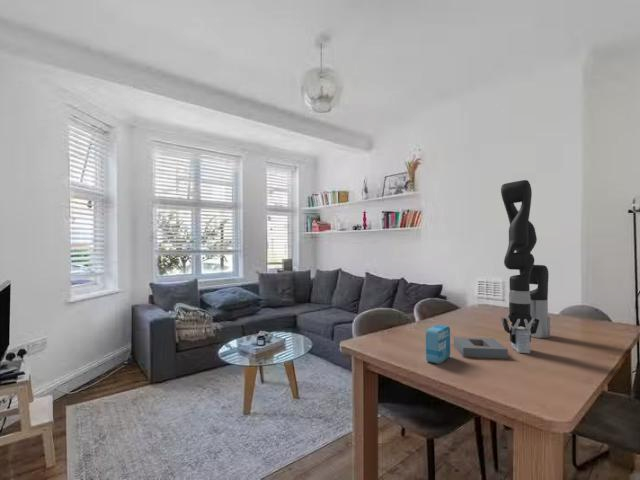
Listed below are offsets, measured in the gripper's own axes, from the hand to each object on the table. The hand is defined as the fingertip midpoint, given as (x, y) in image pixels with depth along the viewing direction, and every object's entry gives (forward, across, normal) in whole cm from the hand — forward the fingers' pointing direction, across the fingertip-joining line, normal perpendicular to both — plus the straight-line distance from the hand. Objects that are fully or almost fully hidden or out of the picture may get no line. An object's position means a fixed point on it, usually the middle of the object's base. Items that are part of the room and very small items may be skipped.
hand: (520, 343), depth 136 cm
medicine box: (+3, 0, 0) cm, 3 cm away
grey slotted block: (+3, +17, +4) cm, 18 cm away
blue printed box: (+3, +35, +15) cm, 38 cm away
